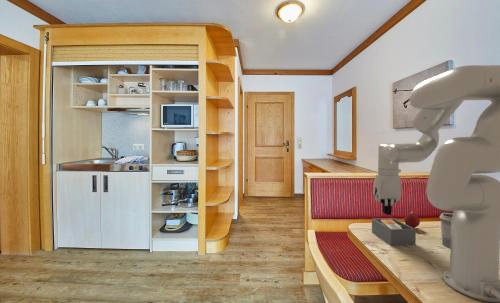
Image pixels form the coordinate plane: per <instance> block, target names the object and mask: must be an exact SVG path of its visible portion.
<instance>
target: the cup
mask: <svg viewBox="0 0 500 303" xmlns="http://www.w3.org/2000/svg"><path fill="white" fill-rule="evenodd" d="M453 214H454V213H449V212H442V213H441V214H440V215H439V219H440V230H441V232H440V233H441V240H442V242H441V243H442V245H443V246H444V247H446V248H448V249H451V220H452V216H453Z"/></svg>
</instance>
